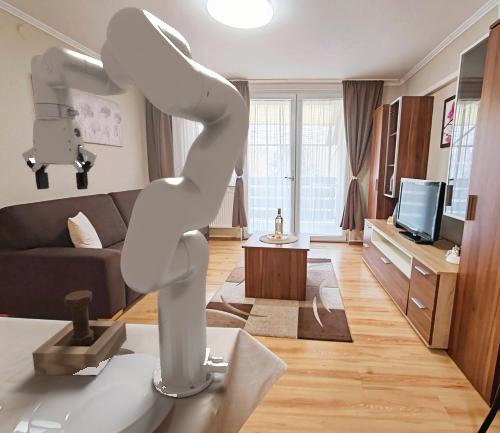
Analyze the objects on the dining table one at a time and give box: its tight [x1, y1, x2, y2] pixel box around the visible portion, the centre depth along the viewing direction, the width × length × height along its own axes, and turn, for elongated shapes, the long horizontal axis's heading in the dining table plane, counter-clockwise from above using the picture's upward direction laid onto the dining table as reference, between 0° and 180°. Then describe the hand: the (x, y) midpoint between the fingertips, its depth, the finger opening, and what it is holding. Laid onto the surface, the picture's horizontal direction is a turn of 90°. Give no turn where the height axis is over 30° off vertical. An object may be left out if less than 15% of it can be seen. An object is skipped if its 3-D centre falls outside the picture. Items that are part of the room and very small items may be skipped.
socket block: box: [31, 319, 127, 376], centre depth 67 cm, size 14×14×5 cm
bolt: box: [63, 289, 94, 347], centre depth 67 cm, size 6×5×15 cm
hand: (62, 189), depth 70 cm, fingers open, 9 cm apart
